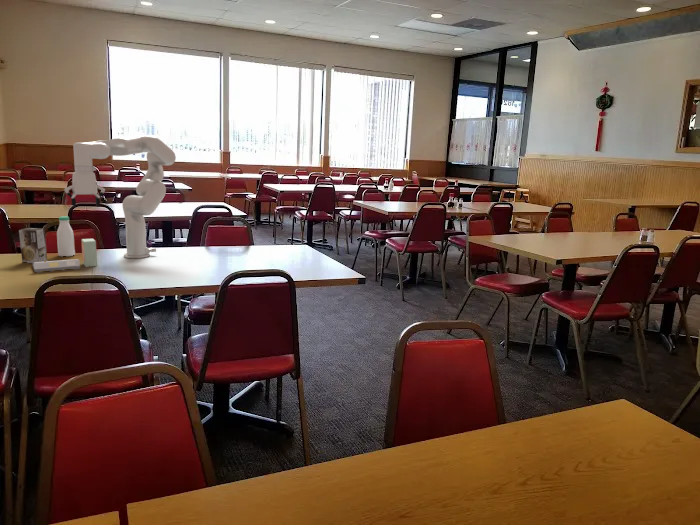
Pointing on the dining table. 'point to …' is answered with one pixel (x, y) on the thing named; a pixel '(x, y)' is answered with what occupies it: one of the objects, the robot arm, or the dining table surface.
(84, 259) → the box
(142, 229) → the robot arm
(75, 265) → the shelf board
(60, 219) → the milk bottle
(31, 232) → the coffee box
